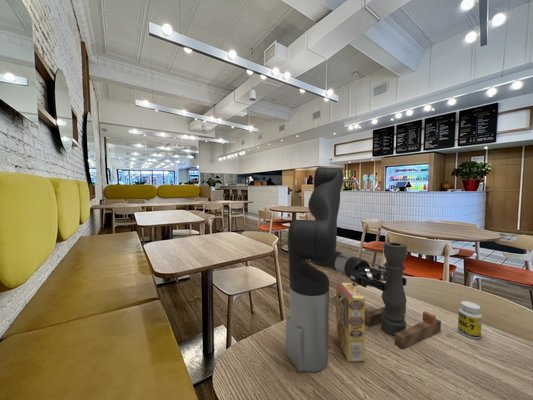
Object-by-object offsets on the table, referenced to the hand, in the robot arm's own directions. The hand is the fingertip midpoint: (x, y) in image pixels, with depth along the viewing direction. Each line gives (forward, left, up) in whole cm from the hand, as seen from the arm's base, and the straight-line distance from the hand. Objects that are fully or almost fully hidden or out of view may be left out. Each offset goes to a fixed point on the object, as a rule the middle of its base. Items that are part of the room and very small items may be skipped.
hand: (396, 285), depth 62 cm
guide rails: (+3, +1, -14) cm, 14 cm away
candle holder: (0, +1, -14) cm, 14 cm away
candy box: (-17, +1, -14) cm, 22 cm away
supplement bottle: (+18, -9, -14) cm, 25 cm away
